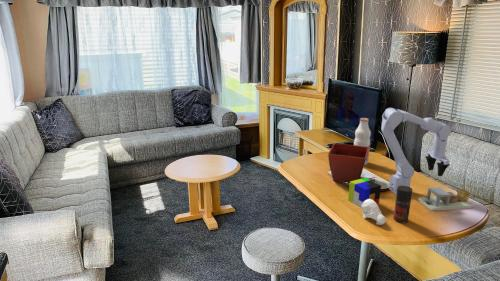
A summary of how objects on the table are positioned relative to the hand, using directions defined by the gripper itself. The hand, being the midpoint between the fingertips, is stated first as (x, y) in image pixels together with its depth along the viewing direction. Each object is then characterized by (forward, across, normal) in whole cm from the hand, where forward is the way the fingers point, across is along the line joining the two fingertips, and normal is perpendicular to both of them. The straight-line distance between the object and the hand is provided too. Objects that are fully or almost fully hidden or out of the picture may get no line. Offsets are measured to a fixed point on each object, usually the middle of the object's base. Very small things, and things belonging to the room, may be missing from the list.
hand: (435, 172), depth 187 cm
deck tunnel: (+10, -13, +3) cm, 17 cm away
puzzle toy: (+10, -6, +40) cm, 42 cm away
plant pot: (+10, +22, +37) cm, 44 cm away
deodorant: (+10, -24, +31) cm, 41 cm away
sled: (+9, -13, -3) cm, 16 cm away
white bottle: (+10, +44, +19) cm, 49 cm away
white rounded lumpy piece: (+10, -23, +43) cm, 50 cm away
